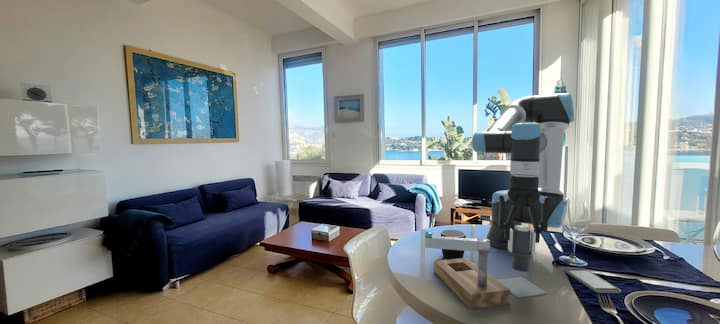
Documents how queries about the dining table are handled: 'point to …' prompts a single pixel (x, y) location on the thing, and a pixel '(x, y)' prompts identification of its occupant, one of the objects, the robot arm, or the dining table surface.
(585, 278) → the smartphone
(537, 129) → the robot arm
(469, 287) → the socket block
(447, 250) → the mug
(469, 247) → the crank
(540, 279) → the dining table surface
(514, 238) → the plug
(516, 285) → the mat
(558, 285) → the dining table surface
